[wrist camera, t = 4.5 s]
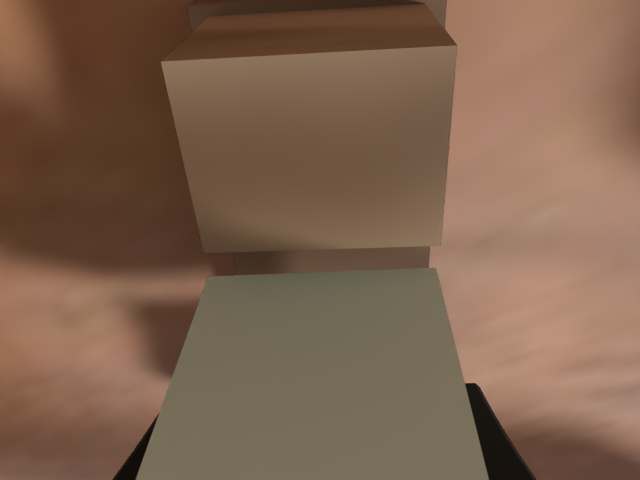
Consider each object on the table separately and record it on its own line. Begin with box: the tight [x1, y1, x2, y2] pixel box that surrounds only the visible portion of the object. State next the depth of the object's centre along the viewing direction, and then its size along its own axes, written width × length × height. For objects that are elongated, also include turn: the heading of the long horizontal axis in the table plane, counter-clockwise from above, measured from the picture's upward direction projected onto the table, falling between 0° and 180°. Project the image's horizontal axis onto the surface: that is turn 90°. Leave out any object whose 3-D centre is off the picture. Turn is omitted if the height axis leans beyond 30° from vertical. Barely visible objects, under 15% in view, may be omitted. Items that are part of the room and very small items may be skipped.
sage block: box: [136, 268, 489, 480], centre depth 11 cm, size 5×5×5 cm
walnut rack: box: [161, 0, 457, 275], centre depth 15 cm, size 15×6×5 cm, turn 3°
